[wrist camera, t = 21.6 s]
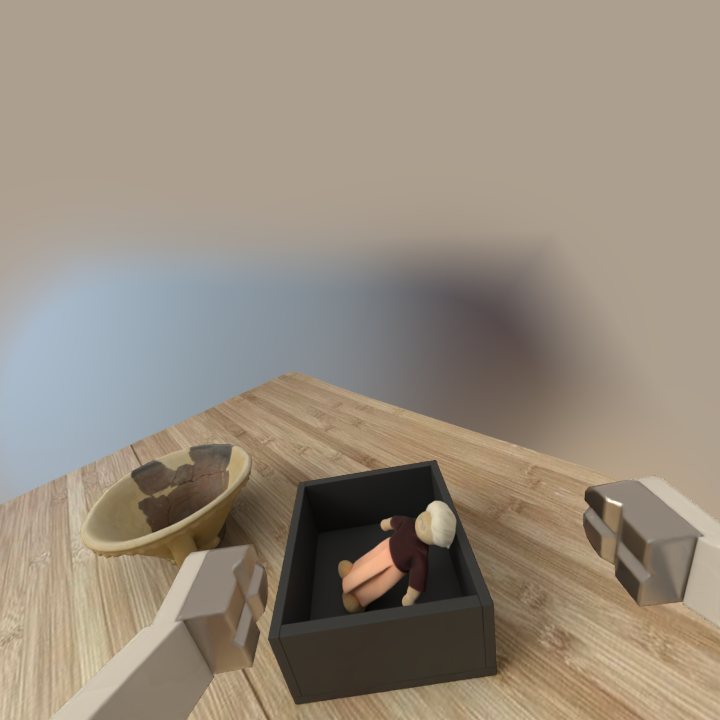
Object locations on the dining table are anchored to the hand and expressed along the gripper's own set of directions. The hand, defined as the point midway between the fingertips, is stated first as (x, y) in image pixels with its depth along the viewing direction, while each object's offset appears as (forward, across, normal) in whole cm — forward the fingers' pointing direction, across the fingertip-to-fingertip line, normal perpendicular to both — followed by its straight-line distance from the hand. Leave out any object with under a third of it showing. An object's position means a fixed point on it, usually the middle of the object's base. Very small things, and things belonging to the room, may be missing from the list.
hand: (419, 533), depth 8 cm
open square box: (+17, +3, +26) cm, 31 cm away
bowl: (+26, +26, +26) cm, 45 cm away
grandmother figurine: (+15, +6, +23) cm, 28 cm away
